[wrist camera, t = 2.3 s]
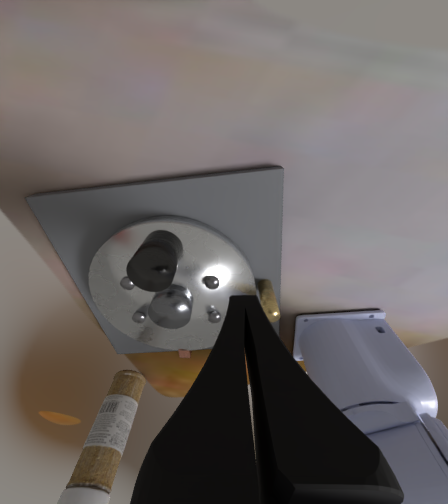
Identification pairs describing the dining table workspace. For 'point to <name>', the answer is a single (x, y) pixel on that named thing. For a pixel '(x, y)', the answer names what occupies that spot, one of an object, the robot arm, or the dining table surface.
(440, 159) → the dining table surface
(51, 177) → the dining table surface
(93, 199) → the charcoal board
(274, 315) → the brass dowel
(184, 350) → the flange plate
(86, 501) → the sprinkles bottle
